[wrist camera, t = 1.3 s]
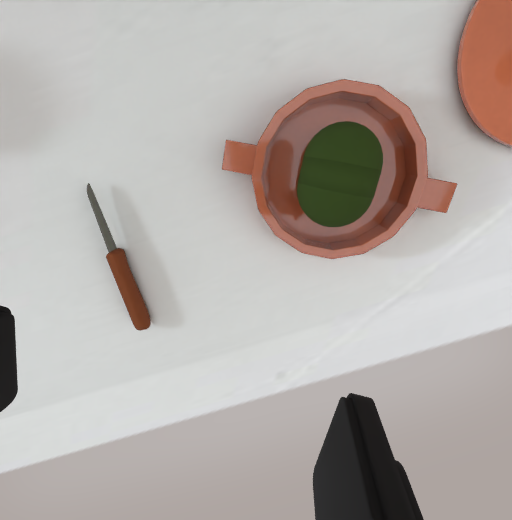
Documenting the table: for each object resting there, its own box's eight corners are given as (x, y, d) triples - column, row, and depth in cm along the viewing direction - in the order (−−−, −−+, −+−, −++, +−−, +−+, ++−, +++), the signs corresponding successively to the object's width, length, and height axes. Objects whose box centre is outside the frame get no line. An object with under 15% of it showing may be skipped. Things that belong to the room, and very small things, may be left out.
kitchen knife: (154, 322, 34) (146, 332, 32) (143, 324, 34) (134, 334, 32) (100, 180, 30) (87, 181, 28) (88, 184, 30) (74, 185, 28)
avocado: (310, 120, 26) (316, 107, 20) (380, 133, 25) (407, 124, 20) (289, 213, 28) (289, 225, 22) (354, 226, 28) (370, 241, 22)
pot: (241, 71, 26) (235, 59, 23) (469, 112, 25) (492, 105, 22) (218, 227, 30) (210, 234, 27) (412, 267, 29) (426, 278, 26)
